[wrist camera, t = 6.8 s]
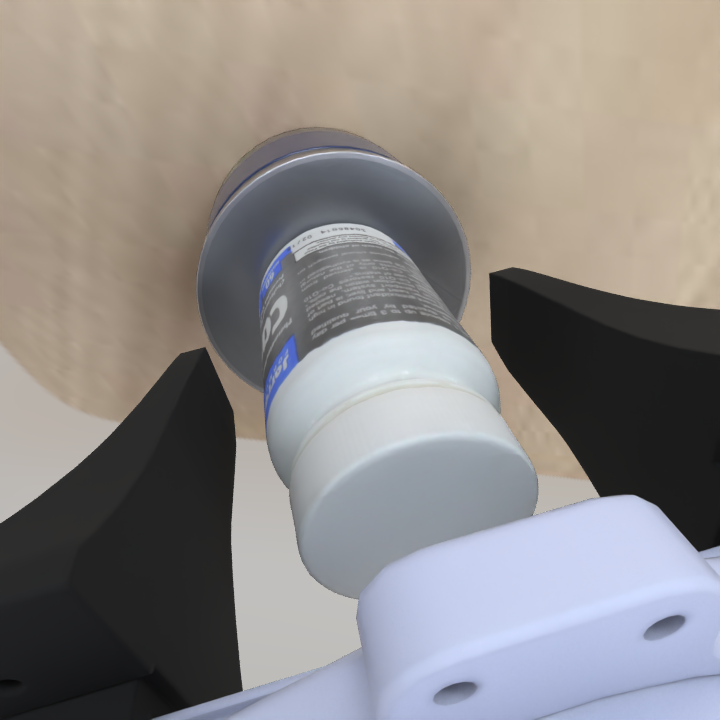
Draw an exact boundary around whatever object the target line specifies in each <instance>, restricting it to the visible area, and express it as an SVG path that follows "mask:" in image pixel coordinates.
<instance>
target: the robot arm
mask: <svg viewBox="0 0 720 720" xmlns="http://www.w3.org/2000/svg"><path fill="white" fill-rule="evenodd" d="M489 278H490V309H491V340H492V343H493V345H494V347H495V349H496V350H497V352H498V354H499V356H500V358H501V359H502V361H503V362H504V364H505V366H506V367H507V369H508V371H509V372H510V373H511V374H512V376H513V377H514V378H515V380H516V381H517V382H518V383H519V385H520V386H521V387H522V388H523V389H524V391H525V392H526V393H527V394H528V396H529V397H530V398H531V399H532V400H533V402H534V403H535V404H536V405H537V407H538V408H539V409H540V410H541V411H542V413H543V414H544V415H545V416H546V418H547V419H548V420H549V421H550V422H551V424H552V425H553V426H554V427H555V428H556V430H557V431H558V432H559V434H560V435H561V436H562V438H563V439H564V440H565V442H566V443H567V445H568V446H569V448H570V449H571V451H572V452H573V454H574V455H575V457H576V459H577V460H578V462H579V463H580V465H581V466H582V468H583V469H584V471H585V473H586V474H587V476H588V477H589V479H590V481H591V482H592V484H593V486H594V487H595V489H596V490H597V492H598V494H599V496H600V497H599V498H591V499H587V500H584V501H581V502H577V503H574V504H570V505H567V506H564V507H560V508H557V509H553V510H550V511H547V512H543V513H540V514H536V515H533V516H529V517H526V518H523V519H519V520H516V521H512V522H509V523H506V524H502V525H499V526H495V527H492V528H489V529H485V530H482V531H478V532H475V533H472V534H468V535H465V536H461V537H458V538H454V539H451V540H448V541H444V542H441V543H437V544H434V545H431V546H427V547H424V548H421V549H419V550H416V551H414V552H412V553H410V554H408V555H406V556H404V557H402V558H400V559H397V560H395V561H393V562H391V563H389V564H387V565H386V566H385V567H384V568H383V569H382V570H381V571H380V572H379V573H378V574H377V575H376V576H375V577H374V578H373V579H372V580H371V582H370V583H369V584H368V585H367V586H366V587H365V588H364V589H363V590H362V592H361V593H360V594H359V601H358V609H357V616H356V619H357V625H358V630H359V635H360V640H361V645H362V647H361V648H359V649H357V650H355V651H353V652H351V653H350V654H348V655H346V656H344V657H342V658H340V659H338V660H336V661H334V662H332V663H330V664H328V665H326V666H324V667H320V668H317V669H314V670H311V671H308V672H304V673H301V674H298V675H295V676H291V677H288V678H284V679H281V680H278V681H275V682H271V683H268V684H265V685H261V686H258V687H255V688H252V689H249V690H245V691H243V689H242V680H241V672H240V661H239V650H238V640H237V628H236V616H235V603H234V588H233V573H232V572H233V571H232V553H231V552H232V551H231V519H232V503H233V489H234V474H235V457H236V435H235V424H234V413H233V409H232V407H231V405H230V402H229V400H228V398H227V395H226V393H225V391H224V389H223V386H222V384H221V382H220V379H219V377H218V375H217V373H216V370H215V368H214V366H213V363H212V361H211V359H210V356H209V354H208V352H207V350H206V347H204V348H200V349H197V350H193V351H189V352H185V353H181V354H180V355H179V356H178V357H177V358H176V359H175V360H174V361H173V362H172V364H171V365H170V366H169V367H168V368H167V370H166V371H165V372H164V373H163V375H162V376H161V377H160V378H159V380H158V381H157V382H156V383H155V385H154V386H153V387H152V388H151V390H150V391H149V392H148V393H147V394H146V396H145V397H144V398H143V399H142V401H141V402H140V403H139V404H138V405H137V406H136V407H135V408H134V410H133V411H132V412H131V413H130V414H129V415H128V416H127V417H126V418H125V420H124V421H123V422H122V423H121V424H120V425H119V426H118V427H117V428H116V429H115V431H114V432H113V433H112V434H111V435H110V436H109V437H108V438H107V439H106V440H105V441H104V442H103V443H102V444H101V445H100V446H99V447H98V448H96V449H95V450H94V451H93V452H92V453H91V454H90V455H89V456H88V457H87V458H85V459H84V460H83V461H82V462H81V463H80V464H79V465H78V466H77V467H75V468H74V469H73V470H72V471H70V472H69V473H68V474H67V475H65V476H64V477H63V478H62V479H60V480H59V481H58V482H57V483H56V484H54V485H53V486H51V487H50V488H49V489H48V490H46V491H45V492H44V493H43V494H41V495H40V496H39V497H38V498H36V499H35V500H33V501H32V502H31V503H29V504H28V505H26V506H25V507H24V508H22V509H21V510H19V511H18V512H17V513H15V514H14V515H12V516H11V517H9V518H8V519H6V520H5V521H3V522H2V523H0V720H720V310H717V309H706V308H694V307H686V306H677V305H670V304H664V303H658V302H652V301H645V300H640V299H635V298H630V297H625V296H621V295H616V294H612V293H608V292H604V291H600V290H596V289H592V288H588V287H584V286H581V285H577V284H574V283H570V282H567V281H563V280H560V279H557V278H553V277H550V276H546V275H543V274H539V273H536V272H532V271H528V270H524V269H520V268H513V267H512V268H508V269H504V270H501V271H497V272H493V273H489Z"/></svg>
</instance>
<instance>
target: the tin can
mask: <svg viewBox="0 0 720 720" xmlns="http://www.w3.org/2000/svg"><path fill="white" fill-rule="evenodd" d="M337 223H350V224H359V225H364V226H368V227H371V228H373V229H376V230H378V231H380V232H382V233H383V234H385V235H387V236H388V237H390V238H391V239H392V240H393V241H395V242H396V243H397V244H398V245H399V246H400V247H401V248H402V249H403V250H404V251H405V252H406V253H407V255H408V256H409V257H410V258H411V260H412V261H413V262H414V264H415V265H416V266H417V268H418V269H419V270H420V272H421V273H422V275H423V276H424V277H425V279H426V280H427V282H428V283H429V284H430V285H431V287H432V288H433V289H434V291H435V292H436V293H437V295H438V296H439V297H440V298H441V300H442V301H443V302H444V304H445V305H446V306H447V308H448V309H449V311H450V312H451V313H452V315H453V316H454V317H455V319H456V320H457V321H458V323H459V322H460V320H461V318H462V315H463V312H464V309H465V306H466V303H467V299H468V294H469V289H470V277H471V266H470V254H469V249H468V244H467V239H466V237H465V234H464V231H463V228H462V225H461V223H460V221H459V219H458V217H457V216H456V214H455V212H454V210H453V208H452V207H451V206H450V204H449V203H448V202H447V200H446V199H445V198H444V196H443V195H442V194H441V193H440V192H439V191H438V190H437V189H436V188H435V187H434V186H433V185H432V184H431V183H430V182H429V181H428V180H426V179H425V178H423V177H422V176H421V175H419V174H418V173H417V172H415V171H414V170H412V169H411V168H409V167H407V166H405V165H404V164H402V163H401V162H400V161H398V160H397V159H396V158H395V157H393V156H392V155H391V154H389V153H388V152H386V151H385V150H384V149H382V148H381V147H379V146H377V145H375V144H373V143H372V142H370V141H368V140H366V139H364V138H362V137H360V136H358V135H355V134H352V133H349V132H346V131H342V130H337V129H332V128H317V127H314V128H303V129H297V130H293V131H289V132H284V133H282V134H279V135H277V136H274V137H272V138H270V139H268V140H266V141H264V142H263V143H261V144H259V145H258V146H256V147H255V148H253V149H252V150H251V151H250V152H248V153H247V154H246V155H245V156H244V157H243V158H242V159H241V160H240V161H239V162H238V163H237V164H236V165H235V166H234V167H233V169H232V170H231V171H230V173H229V174H228V176H227V177H226V178H225V180H224V182H223V184H222V186H221V188H220V190H219V192H218V194H217V197H216V200H215V202H214V205H213V208H212V211H211V214H210V218H209V223H208V228H207V233H206V238H205V242H204V245H203V248H202V251H201V254H200V259H199V264H198V270H197V279H196V296H197V304H198V311H199V315H200V318H201V322H202V326H203V328H204V330H205V333H206V335H207V337H208V339H209V342H210V343H211V345H212V346H213V348H214V350H215V351H216V353H217V354H218V356H219V357H220V358H221V359H222V361H223V362H224V363H225V364H226V365H227V367H228V368H229V369H230V370H231V371H233V372H234V373H235V374H236V375H237V376H238V377H239V378H240V379H242V380H243V381H244V382H246V383H247V384H249V385H250V386H252V387H253V388H255V389H257V390H259V391H260V392H262V393H264V386H263V369H262V352H261V333H260V318H259V297H260V290H261V285H262V281H263V278H264V275H265V273H266V271H267V269H268V267H269V265H270V264H271V262H272V260H273V259H274V258H275V257H276V255H277V254H278V253H279V251H280V250H281V249H282V248H283V247H285V246H286V245H287V244H288V243H289V242H290V241H292V240H293V239H295V238H296V237H298V236H299V235H301V234H303V233H304V232H306V231H308V230H311V229H314V228H317V227H321V226H325V225H330V224H337Z"/></svg>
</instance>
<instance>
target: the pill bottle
mask: <svg viewBox="0 0 720 720" xmlns="http://www.w3.org/2000/svg"><path fill="white" fill-rule="evenodd" d="M259 318H260V333H261V352H262V369H263V386H264V410H265V425H266V438H267V445H268V449H269V453H270V457H271V461H272V463H273V465H274V468H275V470H276V472H277V474H278V476H279V477H280V479H281V480H282V481H283V483H284V485H285V486H286V487H287V488H288V489H289V497H290V505H291V510H292V514H293V519H294V525H295V531H296V538H297V544H298V549H299V554H300V557H301V559H302V562H303V564H304V565H305V567H306V569H307V571H308V572H309V574H310V575H311V576H312V577H313V578H314V579H315V580H316V581H317V582H319V583H320V584H321V585H323V586H324V587H326V588H327V589H329V590H331V591H333V592H335V593H337V594H340V595H343V596H346V597H349V598H354V599H358V600H359V594H360V593H361V592H362V590H363V589H364V588H365V587H366V586H367V585H368V584H369V583H370V582H371V580H372V579H373V578H374V577H375V576H376V575H377V574H378V573H379V572H380V571H381V570H382V569H383V568H384V567H385V566H386V565H387V564H389V563H391V562H393V561H395V560H397V559H400V558H402V557H404V556H406V555H408V554H410V553H412V552H414V551H416V550H419V549H421V548H424V547H427V546H431V545H434V544H437V543H441V542H444V541H448V540H451V539H454V538H458V537H461V536H465V535H468V534H472V533H475V532H478V531H482V530H485V529H489V528H492V527H495V526H499V525H502V524H506V523H509V522H512V521H516V520H519V519H523V518H526V517H529V516H533V513H534V511H535V508H536V504H537V499H538V479H537V475H536V472H535V469H534V467H533V465H532V463H531V461H530V459H529V457H528V456H527V454H526V453H525V451H524V450H523V448H522V447H521V445H520V444H519V442H518V441H517V439H516V438H515V436H514V435H513V433H512V432H511V430H510V428H509V427H508V425H507V424H506V422H505V421H504V419H503V418H502V417H501V415H500V412H501V410H500V394H499V388H498V385H497V381H496V378H495V376H494V374H493V372H492V369H491V367H490V365H489V363H488V361H487V360H486V358H485V357H484V355H483V354H482V352H481V351H480V350H479V349H478V347H477V346H476V345H475V343H474V342H473V341H472V339H471V338H470V337H469V335H468V334H467V333H466V332H465V330H464V329H463V328H462V326H461V325H460V324H459V323H458V321H457V320H456V319H455V317H454V316H453V315H452V313H451V312H450V311H449V309H448V308H447V306H446V305H445V304H444V302H443V301H442V300H441V298H440V297H439V296H438V295H437V293H436V292H435V291H434V289H433V288H432V287H431V285H430V284H429V283H428V282H427V280H426V279H425V277H424V276H423V275H422V273H421V272H420V270H419V269H418V268H417V266H416V265H415V264H414V262H413V261H412V260H411V258H410V257H409V256H408V255H407V253H406V252H405V251H404V250H403V249H402V248H401V247H400V246H399V245H398V244H397V243H396V242H395V241H393V240H392V239H391V238H390V237H388V236H387V235H385V234H383V233H382V232H380V231H378V230H376V229H373V228H371V227H368V226H364V225H359V224H350V223H337V224H330V225H325V226H321V227H317V228H314V229H311V230H308V231H306V232H304V233H303V234H301V235H299V236H298V237H296V238H295V239H293V240H292V241H290V242H289V243H288V244H287V245H286V246H285V247H283V248H282V249H281V250H280V251H279V253H278V254H277V255H276V257H275V258H274V259H273V260H272V262H271V264H270V265H269V267H268V269H267V271H266V273H265V275H264V278H263V281H262V285H261V290H260V297H259Z"/></svg>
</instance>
